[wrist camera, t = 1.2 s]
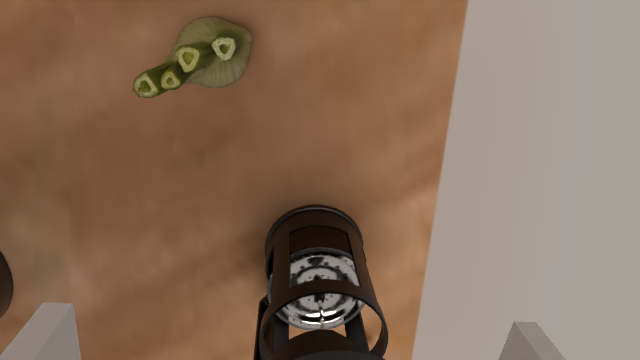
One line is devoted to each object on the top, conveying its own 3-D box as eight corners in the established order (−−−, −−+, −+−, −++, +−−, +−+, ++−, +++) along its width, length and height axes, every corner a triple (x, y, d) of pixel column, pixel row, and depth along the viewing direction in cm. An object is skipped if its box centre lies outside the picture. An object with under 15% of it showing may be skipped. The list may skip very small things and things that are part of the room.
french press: (323, 180, 36) (371, 427, 15) (387, 244, 39) (502, 522, 18) (232, 258, 38) (163, 563, 17) (299, 312, 42) (310, 625, 21)
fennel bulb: (255, 17, 30) (236, 24, 19) (257, 84, 32) (240, 124, 21) (176, 14, 30) (111, 18, 19) (182, 81, 32) (126, 121, 21)
